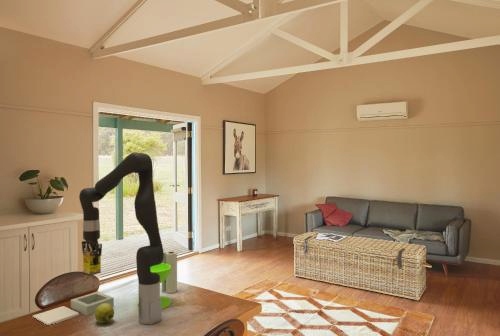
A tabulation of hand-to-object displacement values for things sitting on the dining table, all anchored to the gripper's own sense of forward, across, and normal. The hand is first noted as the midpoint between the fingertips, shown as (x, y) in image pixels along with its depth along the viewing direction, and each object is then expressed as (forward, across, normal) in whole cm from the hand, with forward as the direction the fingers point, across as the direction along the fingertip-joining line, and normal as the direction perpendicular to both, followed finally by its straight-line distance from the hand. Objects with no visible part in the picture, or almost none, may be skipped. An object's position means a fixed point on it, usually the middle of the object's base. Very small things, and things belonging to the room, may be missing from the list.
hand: (91, 263), depth 181 cm
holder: (+21, 0, 0) cm, 21 cm away
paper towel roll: (+21, -14, -37) cm, 45 cm away
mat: (+21, +3, +16) cm, 27 cm away
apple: (+22, -19, +6) cm, 30 cm away
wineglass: (+22, -20, -21) cm, 36 cm away
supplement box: (+5, 0, 0) cm, 5 cm away
